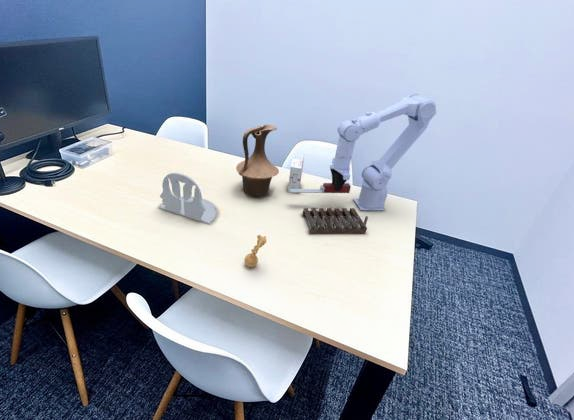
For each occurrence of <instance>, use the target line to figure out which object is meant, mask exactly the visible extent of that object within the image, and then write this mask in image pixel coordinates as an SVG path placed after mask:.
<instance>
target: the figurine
mask: <svg viewBox="0 0 574 420" xmlns="http://www.w3.org/2000/svg"><path fill="white" fill-rule="evenodd" d="M256 238H257V240H256V244H255V245H254V246H253V248H252V249H251V253H248V254H246V255H245V257H244V264H245V266H247V267H249V268H254V267H255V266H257V265H258V262H259V258H258V256H257V254H258V252H259V250H260V249H261V248H262V247H263V246H264V245H265V244H266V243H267V236H266V235H265V236H262V235H261V234H258V235H257V236H256Z"/></svg>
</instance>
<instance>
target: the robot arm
mask: <svg viewBox="0 0 574 420" xmlns="http://www.w3.org/2000/svg"><path fill="white" fill-rule="evenodd" d="M436 114H437V104H436V102H435V101H434V100H431V99H428V98H425V97H423V96H421V95H419V94H417V93H413V94H410V95H408V96H404V97H403V98H402V99H401V100H400V101H398V102H397V103H394V104H392V105H390V106H388V107H386V108H384V109H382V110H380V111H378V112H375V111H366V112H365V114H363V115H361V116H359V117H357V118H355V117H354V118H352V120H347V119H346V120H343V121H342V122H341V123H340V124H339V126H338V127H337V133H338V141H337V146H336V150H335V155H334V158H332V161H331V163H332V164H330V165H329V168H330V169H329V170H330V172H331V183H335V191H340V190H341V189H342V187H343V185H344V183H347V181H349V180H350V178H351V174H350V170H351V169H350V166H351V161H352V158H353V153H354V148H355V145H356V141H357V140H359V138H360V137H361V136H362V135H363V134H366V133H368V132H371V131H372V130H375V129H377V128H378V127H380V125H381V123H383V122H386V121H389V120H392V119H393V118H397V117H399V116H403V115H404V116H407V118H408V125H407V126H406V128H404V130H403V131H402V132H401V134H399V136H398V137H397V138H396V140H395V141H394V142H393V143H392V144H391V145H390V146H389V148H388V149H387V150H386V151H385V153H383V155H382V156H381V157H380V158H379V159H377V160H373V161H372V162H371V163H370V164H369V165H367V166H365V167H364V168H363V170H362V172H361V177H362V183H361V184H362V185H361V188H360V192H359V195H358V198H354V199H353V202H355V204H356V205H357V208H358V209H359V210H360V211H384V210H385V209H384V207H385V204H386V201H387V196H388V189H387V186H388V183H389V181H390V179H391V178H392V175H393V174H392V170H393V168H394V166H395V165H396V164H397V163H398V162H399V161H400V160H401V159H402V157H403V156H404V155H405V154H406V153H407V151H409V149H411V148H412V146H413V145H414V144H415V142H416V141H418V139H419V138H420V137H421V136H422V135H423V134H424V132H425V131H426V130H427V128H428V126H429V125H430V122H431V120H432V119H433V118H434V117H435V116H436Z"/></svg>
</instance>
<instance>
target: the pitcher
mask: <svg viewBox="0 0 574 420" xmlns="http://www.w3.org/2000/svg"><path fill="white" fill-rule="evenodd" d="M276 130H278V127H277V126H275V125H271V124H264V125H258V126H254V127H251V128H249V129H246V131H245V132H244V133H243V135H242V147H243V152H244V153H243V154H244V160H242V161H241V162H239V163H237V165H236V167H235V169H236V171H237V173H238V175H239V176H241V181H242V192H243V193H244V195H246V196H248V197H252V198H263V197H265V196H267V195H268V194H269V190H270V185H271V182H272V179H273V177H276V176H277V175H278V174H279V172H280V170H279V168H278V167H277V166H276V165H275V164H273V163H272V162H271V161H270V160H269V159H268V157H267V154H266V149H265V146H266V139H267V137H268V135H269V134H270V133H271V132H274V131H276ZM251 135H252V137H253V138H254V140H255V144H254V150H253V152H252V153H251V155H250V156H249V146H248V139H249V136H251Z"/></svg>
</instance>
